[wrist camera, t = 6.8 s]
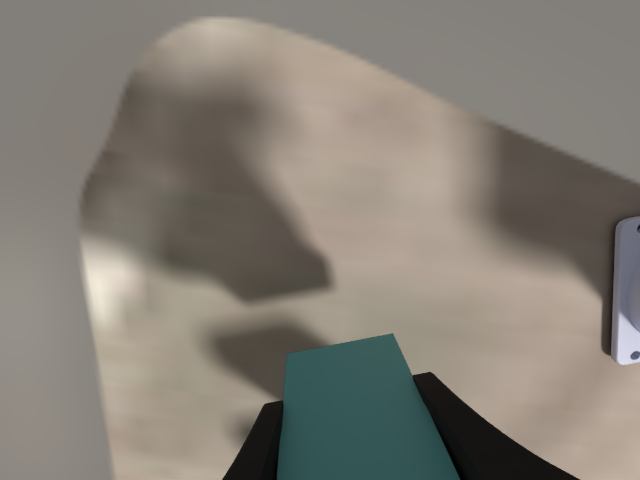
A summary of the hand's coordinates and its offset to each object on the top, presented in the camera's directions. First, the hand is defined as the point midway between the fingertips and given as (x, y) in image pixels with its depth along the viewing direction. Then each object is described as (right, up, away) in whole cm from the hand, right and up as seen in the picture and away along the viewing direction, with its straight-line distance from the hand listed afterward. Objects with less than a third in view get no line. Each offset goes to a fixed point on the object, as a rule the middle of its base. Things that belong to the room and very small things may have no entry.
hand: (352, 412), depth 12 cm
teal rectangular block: (0, +1, +3) cm, 3 cm away
